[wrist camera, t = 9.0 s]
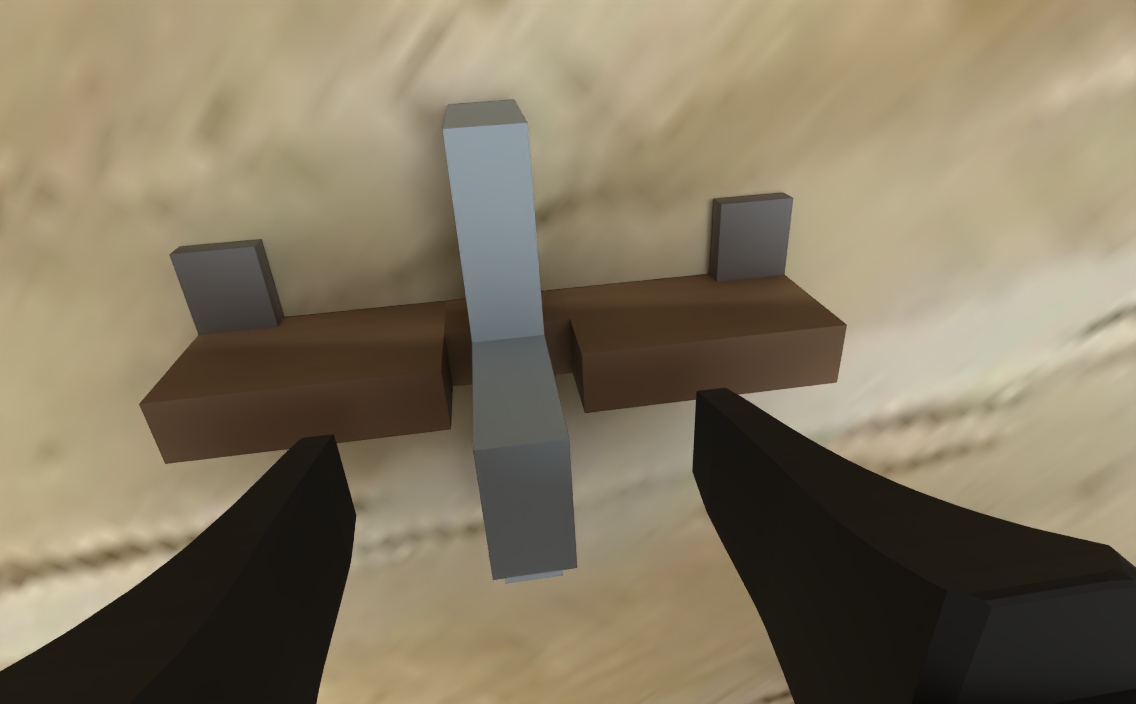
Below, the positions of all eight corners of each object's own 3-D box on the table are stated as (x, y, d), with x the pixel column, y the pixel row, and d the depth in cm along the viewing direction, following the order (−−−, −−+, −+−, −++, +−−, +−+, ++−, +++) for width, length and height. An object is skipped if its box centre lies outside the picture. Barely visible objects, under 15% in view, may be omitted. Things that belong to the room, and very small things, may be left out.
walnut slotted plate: (763, 378, 20) (824, 453, 17) (247, 440, 19) (197, 536, 15) (783, 192, 18) (862, 235, 14) (179, 246, 16) (97, 309, 12)
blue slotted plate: (547, 483, 21) (586, 713, 14) (499, 489, 21) (515, 725, 14) (514, 99, 15) (551, 164, 8) (448, 104, 15) (431, 174, 8)
